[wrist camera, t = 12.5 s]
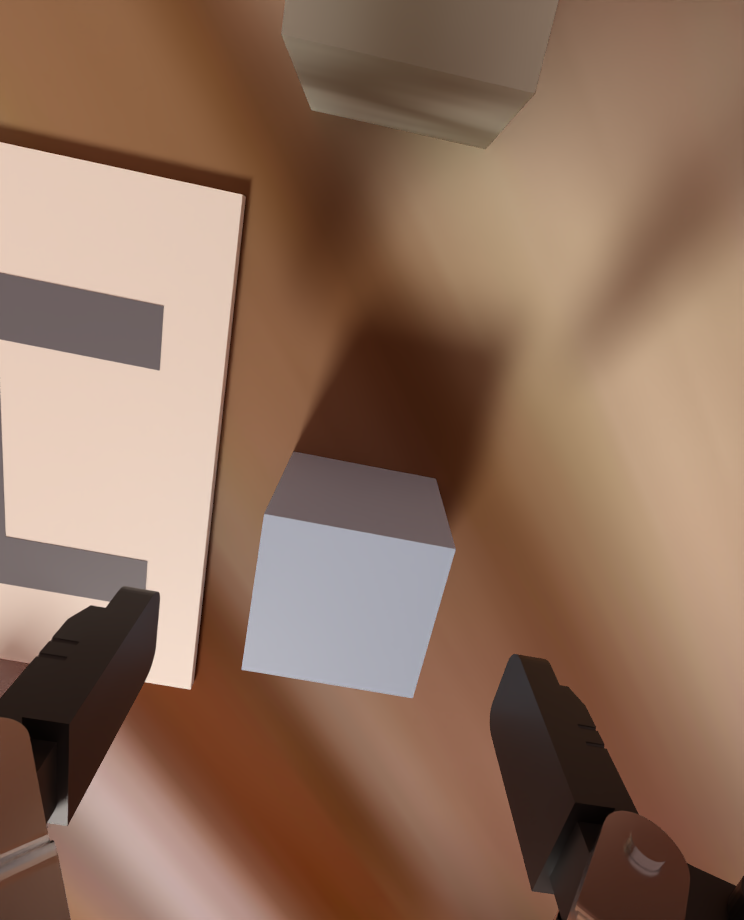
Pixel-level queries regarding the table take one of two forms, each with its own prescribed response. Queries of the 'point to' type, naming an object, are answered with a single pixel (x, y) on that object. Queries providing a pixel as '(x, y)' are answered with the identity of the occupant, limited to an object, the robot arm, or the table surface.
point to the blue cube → (348, 576)
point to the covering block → (420, 61)
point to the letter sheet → (109, 394)
